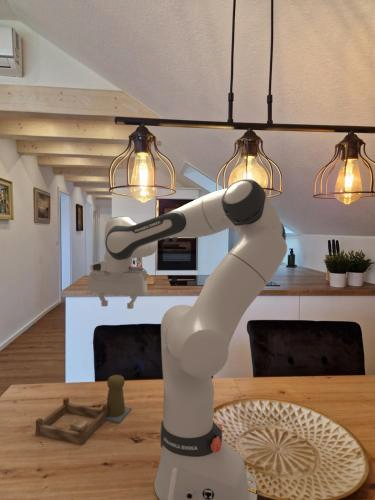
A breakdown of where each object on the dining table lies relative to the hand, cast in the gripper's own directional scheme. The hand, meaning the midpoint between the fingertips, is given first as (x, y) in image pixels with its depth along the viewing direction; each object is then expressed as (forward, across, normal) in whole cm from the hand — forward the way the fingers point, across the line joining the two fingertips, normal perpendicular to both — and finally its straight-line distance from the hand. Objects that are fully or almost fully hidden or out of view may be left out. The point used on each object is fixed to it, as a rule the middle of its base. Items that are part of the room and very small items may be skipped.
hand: (117, 307), depth 109 cm
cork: (+31, -4, +8) cm, 32 cm away
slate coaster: (+31, -4, +9) cm, 33 cm away
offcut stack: (+31, 0, +22) cm, 38 cm away
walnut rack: (+31, +4, +18) cm, 36 cm away
